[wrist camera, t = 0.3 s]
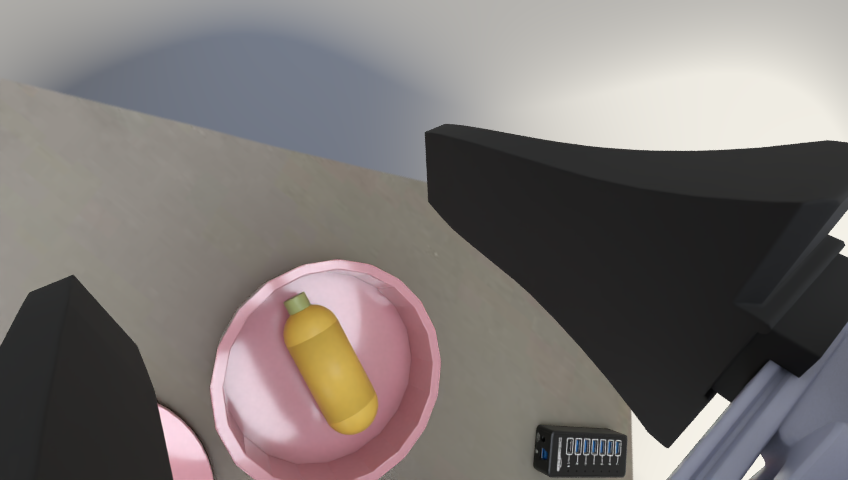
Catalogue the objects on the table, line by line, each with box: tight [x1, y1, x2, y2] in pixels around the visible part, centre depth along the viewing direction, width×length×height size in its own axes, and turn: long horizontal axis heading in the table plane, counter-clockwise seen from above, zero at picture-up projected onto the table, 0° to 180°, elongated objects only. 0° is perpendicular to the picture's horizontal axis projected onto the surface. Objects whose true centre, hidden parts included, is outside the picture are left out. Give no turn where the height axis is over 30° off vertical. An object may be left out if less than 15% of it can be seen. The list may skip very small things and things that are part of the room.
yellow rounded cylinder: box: [283, 292, 378, 435], centre depth 34 cm, size 12×4×4 cm, turn 28°
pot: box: [210, 259, 441, 480], centre depth 34 cm, size 17×17×5 cm
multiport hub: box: [534, 425, 627, 477], centre depth 45 cm, size 4×11×2 cm, turn 79°
